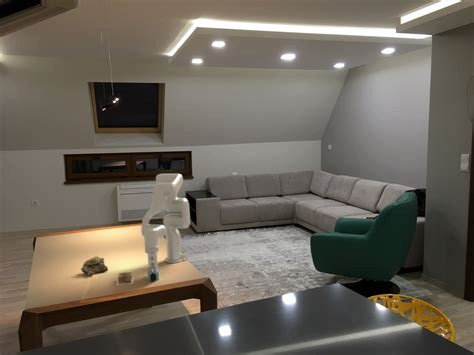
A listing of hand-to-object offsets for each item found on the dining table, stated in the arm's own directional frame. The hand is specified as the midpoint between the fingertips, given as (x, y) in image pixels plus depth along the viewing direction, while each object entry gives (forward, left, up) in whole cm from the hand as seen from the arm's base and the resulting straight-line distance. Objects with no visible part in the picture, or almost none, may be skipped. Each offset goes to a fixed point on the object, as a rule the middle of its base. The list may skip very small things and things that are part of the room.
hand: (153, 277), depth 231 cm
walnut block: (+16, 0, 0) cm, 16 cm away
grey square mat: (+16, 0, -2) cm, 16 cm away
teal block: (0, 0, -2) cm, 2 cm away
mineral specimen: (+36, -23, -2) cm, 43 cm away
